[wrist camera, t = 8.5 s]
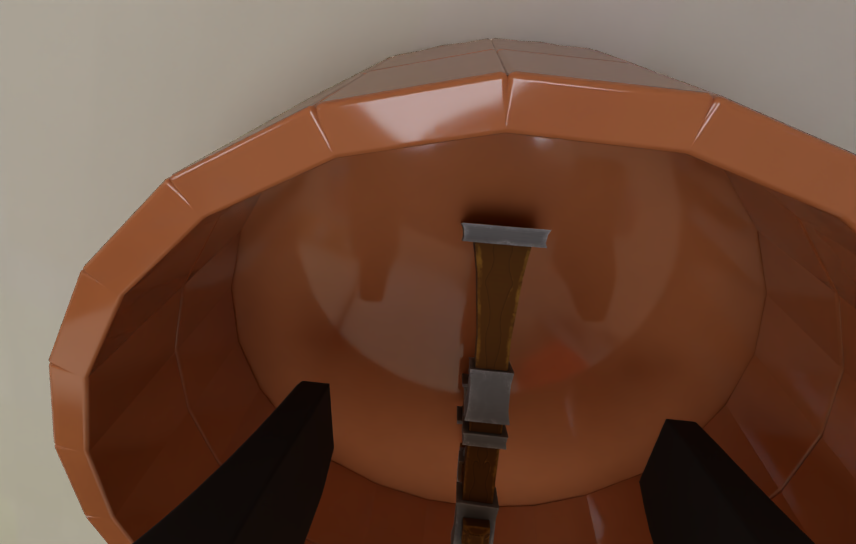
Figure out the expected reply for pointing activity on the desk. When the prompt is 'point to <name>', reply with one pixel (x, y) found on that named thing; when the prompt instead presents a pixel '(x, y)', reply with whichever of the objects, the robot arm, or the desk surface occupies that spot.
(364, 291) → the orange brown bowl
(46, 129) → the desk surface
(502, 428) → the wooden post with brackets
